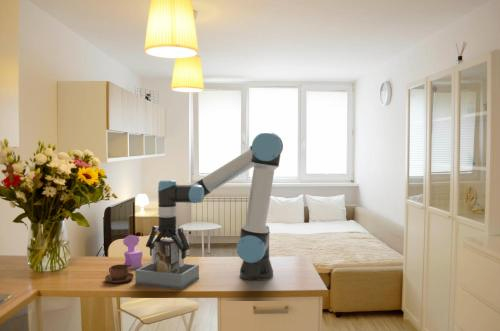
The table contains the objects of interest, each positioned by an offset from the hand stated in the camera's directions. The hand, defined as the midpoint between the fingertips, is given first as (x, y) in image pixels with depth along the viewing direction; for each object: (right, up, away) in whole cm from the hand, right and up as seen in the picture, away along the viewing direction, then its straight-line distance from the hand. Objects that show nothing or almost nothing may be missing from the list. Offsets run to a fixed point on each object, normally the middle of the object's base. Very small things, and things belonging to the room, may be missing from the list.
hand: (167, 264), depth 181 cm
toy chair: (-22, -7, +23) cm, 33 cm away
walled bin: (0, -7, 0) cm, 7 cm away
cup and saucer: (-21, -8, +2) cm, 23 cm away
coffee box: (0, -6, 0) cm, 6 cm away
